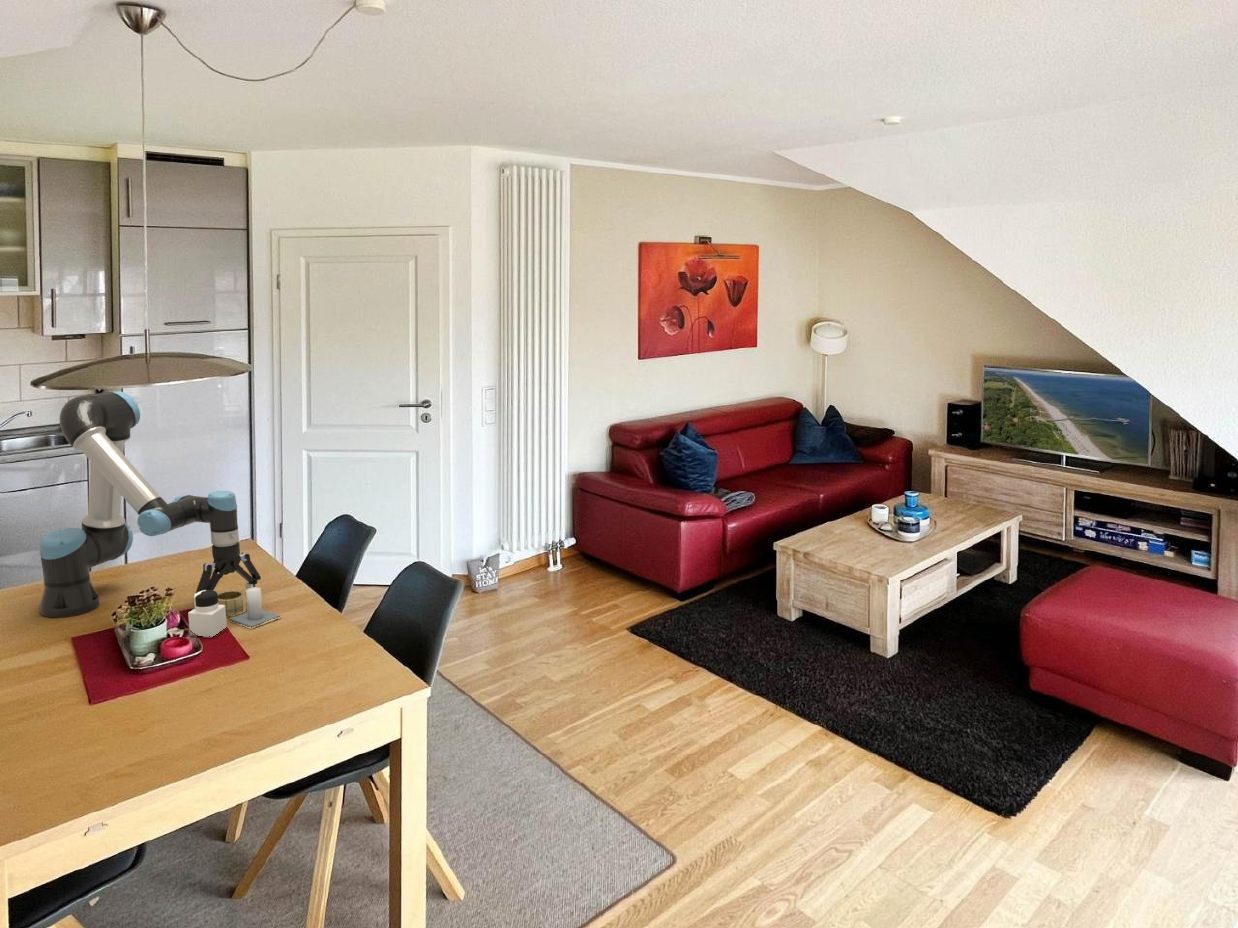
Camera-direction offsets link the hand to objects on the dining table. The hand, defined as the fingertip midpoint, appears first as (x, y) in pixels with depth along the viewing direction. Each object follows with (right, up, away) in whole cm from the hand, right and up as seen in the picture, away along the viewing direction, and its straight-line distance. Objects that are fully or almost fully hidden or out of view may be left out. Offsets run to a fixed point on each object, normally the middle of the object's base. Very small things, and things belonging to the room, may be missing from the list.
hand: (230, 610), depth 264 cm
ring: (0, 0, 0) cm, 0 cm away
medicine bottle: (+1, -4, -15) cm, 16 cm away
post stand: (+10, -2, -6) cm, 12 cm away
